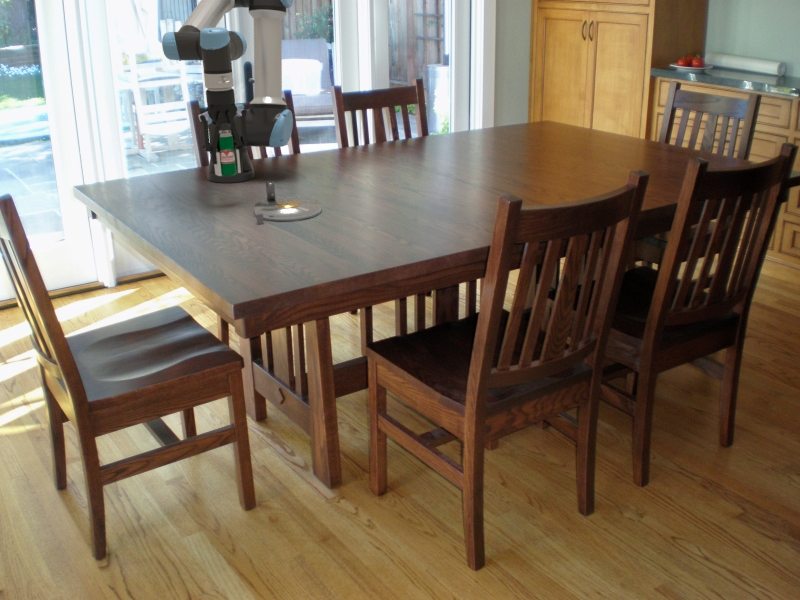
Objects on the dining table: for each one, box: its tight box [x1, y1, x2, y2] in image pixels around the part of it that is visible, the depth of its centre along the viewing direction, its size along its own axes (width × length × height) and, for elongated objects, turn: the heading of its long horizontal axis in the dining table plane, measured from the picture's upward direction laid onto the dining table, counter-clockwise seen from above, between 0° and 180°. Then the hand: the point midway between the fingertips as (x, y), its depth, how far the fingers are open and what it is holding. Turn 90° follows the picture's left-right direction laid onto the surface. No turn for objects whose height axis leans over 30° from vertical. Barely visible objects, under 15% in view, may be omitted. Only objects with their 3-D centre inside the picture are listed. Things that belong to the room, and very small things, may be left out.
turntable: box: [254, 181, 322, 222], centre depth 225 cm, size 18×18×7 cm
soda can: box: [217, 130, 237, 176], centre depth 228 cm, size 5×5×12 cm
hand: (228, 173), depth 230 cm, fingers closed on soda can, 5 cm apart
